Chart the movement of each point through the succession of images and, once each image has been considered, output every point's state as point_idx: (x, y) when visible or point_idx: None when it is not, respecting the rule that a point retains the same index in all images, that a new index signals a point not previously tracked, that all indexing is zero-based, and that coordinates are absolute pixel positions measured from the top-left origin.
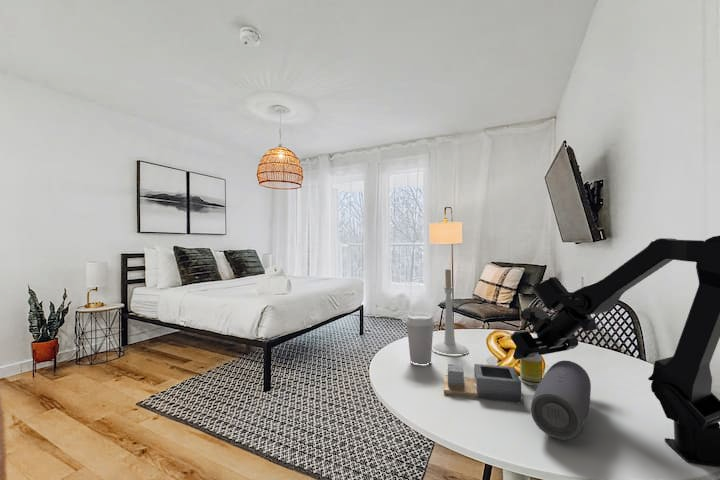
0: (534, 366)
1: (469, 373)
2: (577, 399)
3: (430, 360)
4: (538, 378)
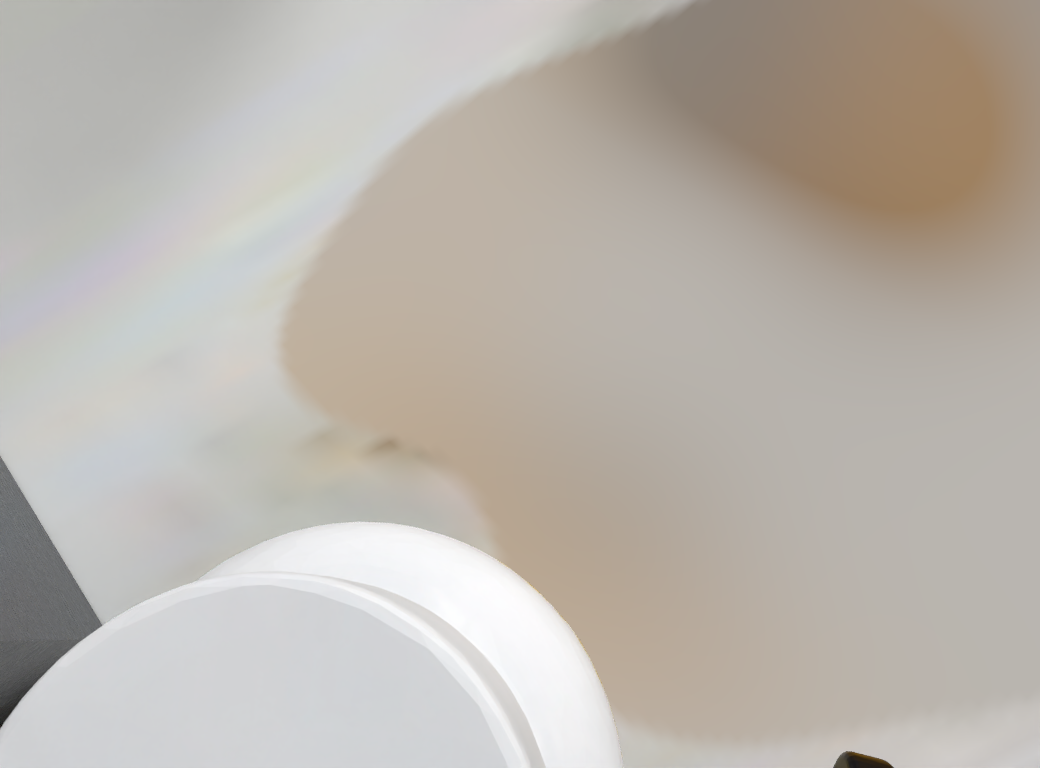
0: None
1: (97, 69)
2: None
3: None
4: None
